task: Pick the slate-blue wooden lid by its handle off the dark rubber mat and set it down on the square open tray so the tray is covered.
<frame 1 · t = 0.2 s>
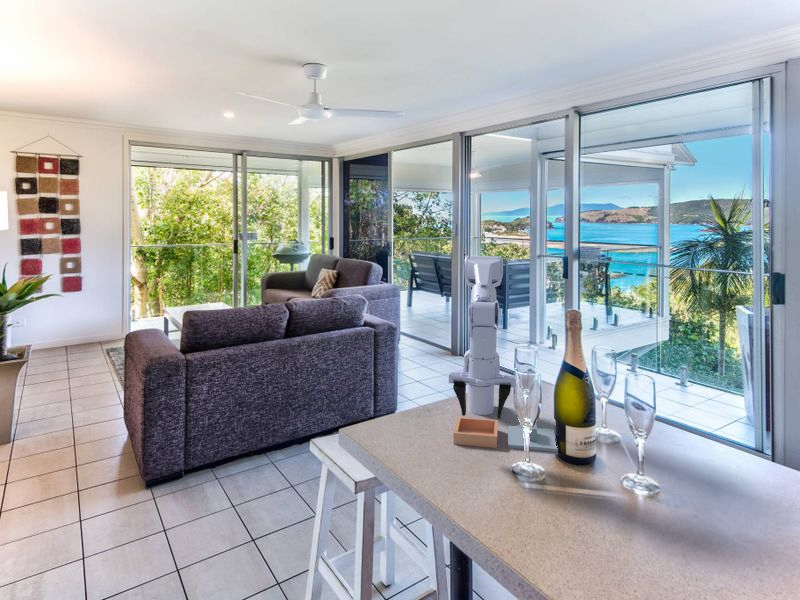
hand: (481, 415, 109), 10 cm above the breakfast bar, fingers open, 7 cm apart
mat: (531, 443, 118), on the breakfast bar
square open tray: (476, 439, 119), on the breakfast bar
lid: (531, 439, 117), point 1 cm above the breakfast bar, touching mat
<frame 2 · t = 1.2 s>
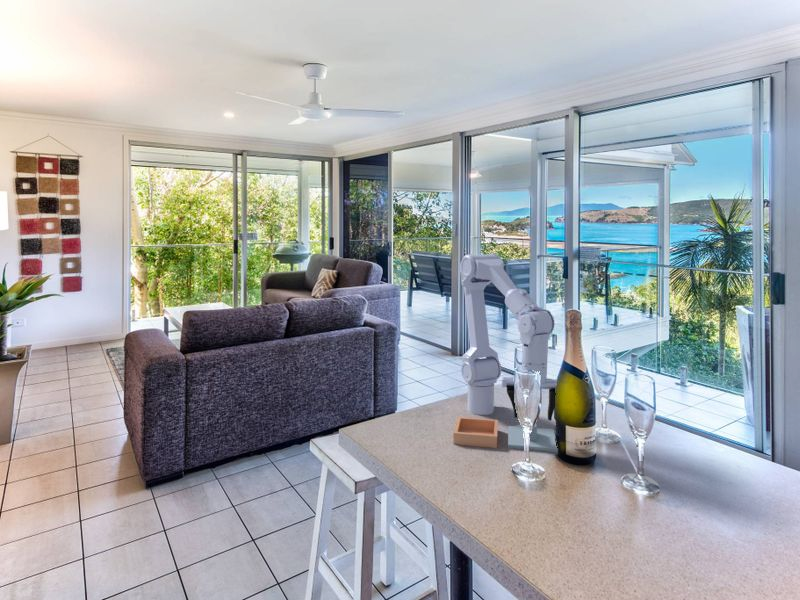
hand: (532, 417, 117), 6 cm above the breakfast bar, fingers open, 7 cm apart
nothing on the breakfast bar moved.
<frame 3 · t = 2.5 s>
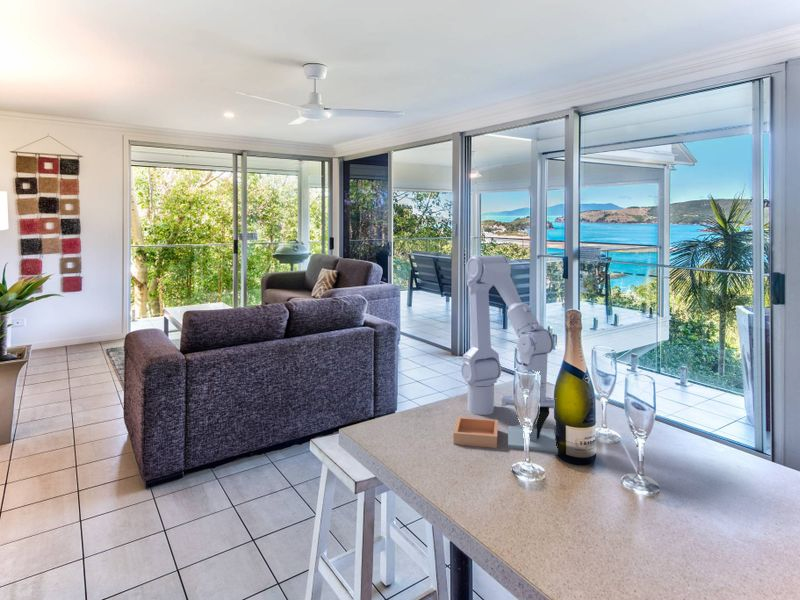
hand: (531, 435, 117), 2 cm above the breakfast bar, fingers closed on lid, 2 cm apart
lid: (531, 439, 117), point 1 cm above the breakfast bar, touching gripper, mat
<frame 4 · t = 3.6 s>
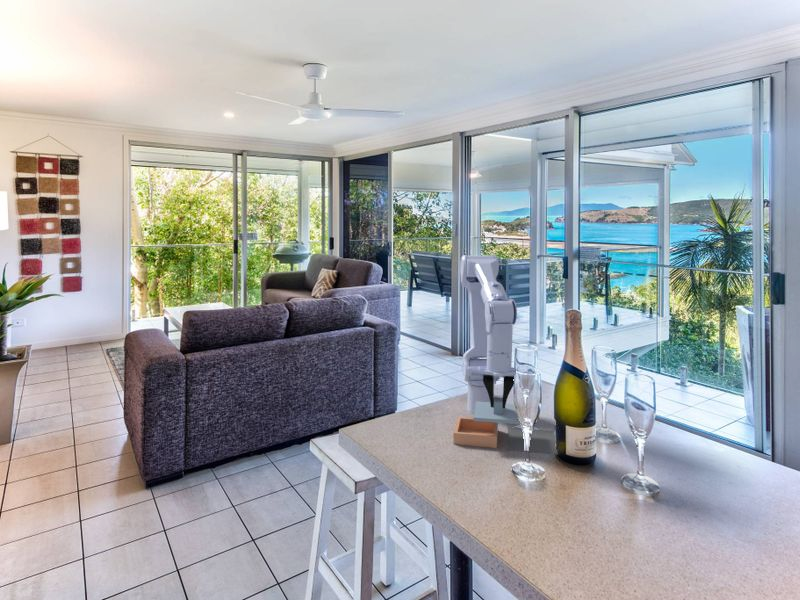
hand: (497, 406, 117), 9 cm above the breakfast bar, fingers closed on lid
lid: (497, 413, 118), point 7 cm above the breakfast bar, touching gripper
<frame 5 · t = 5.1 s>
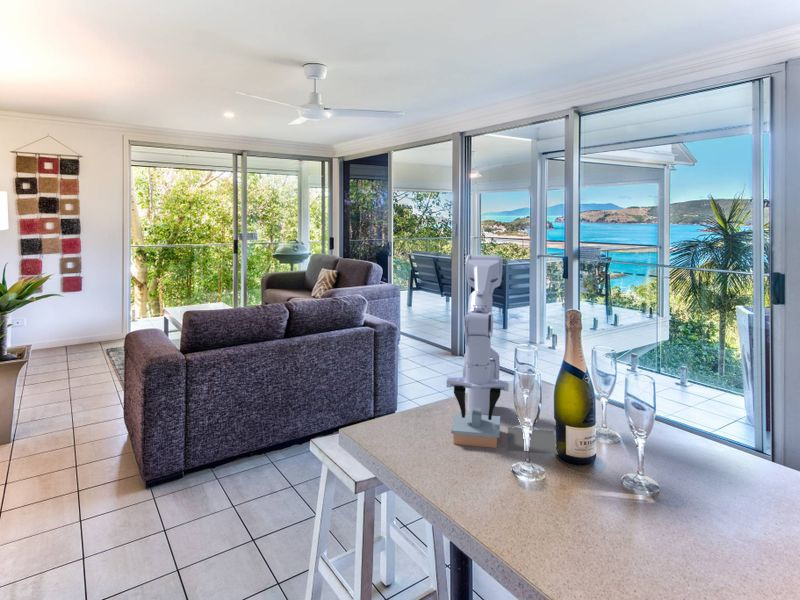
hand: (476, 417, 119), 6 cm above the breakfast bar, fingers open, 6 cm apart
lid: (476, 426, 119), point 3 cm above the breakfast bar, touching square open tray
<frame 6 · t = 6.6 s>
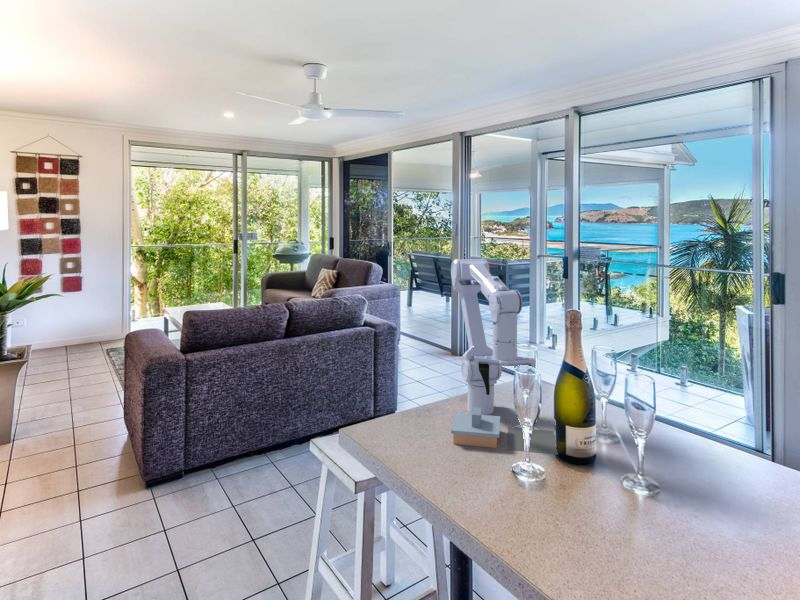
hand: (503, 394, 121), 10 cm above the breakfast bar, fingers open, 7 cm apart
nothing on the breakfast bar moved.
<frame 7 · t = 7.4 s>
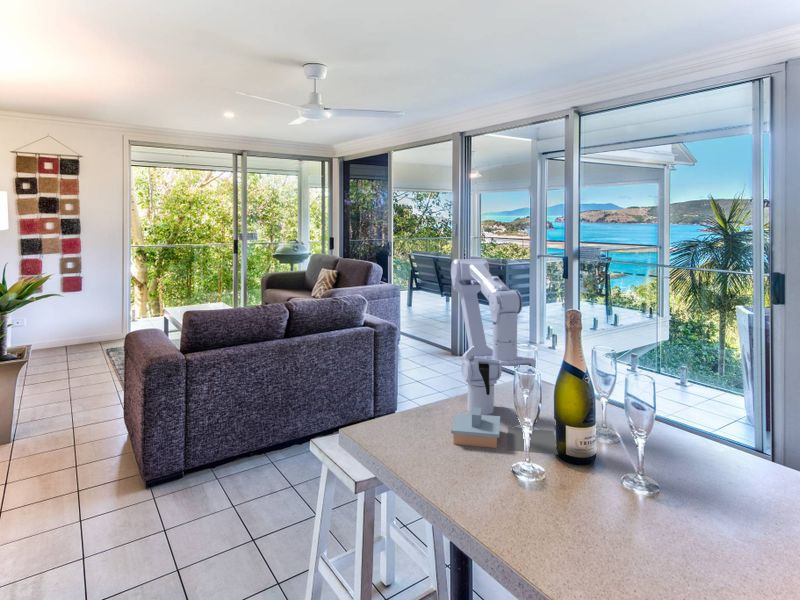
hand: (504, 394, 121), 10 cm above the breakfast bar, fingers open, 7 cm apart
nothing on the breakfast bar moved.
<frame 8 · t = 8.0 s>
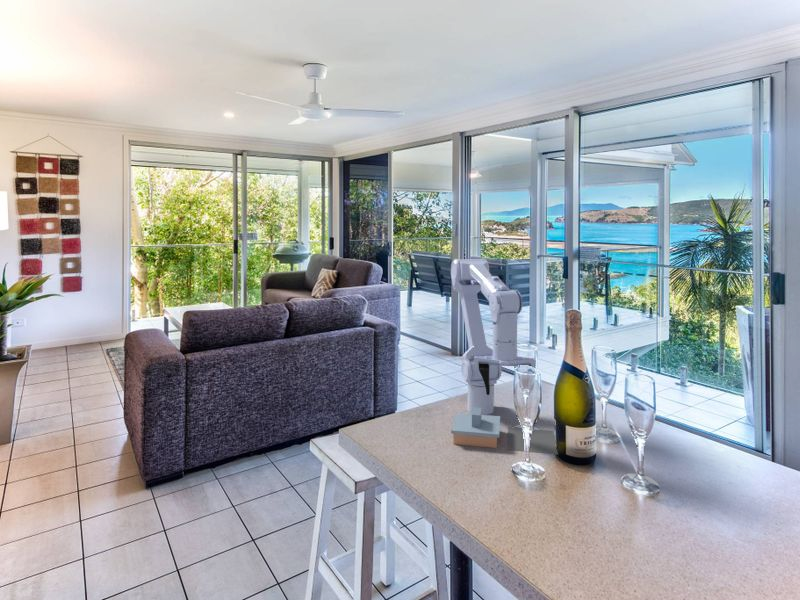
hand: (504, 394, 121), 10 cm above the breakfast bar, fingers open, 7 cm apart
nothing on the breakfast bar moved.
at the end: lid 0.0 cm off-centre on the square open tray, point 3.5 cm above the square open tray's base; lid tilted 0°; the gripper is holding nothing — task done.
